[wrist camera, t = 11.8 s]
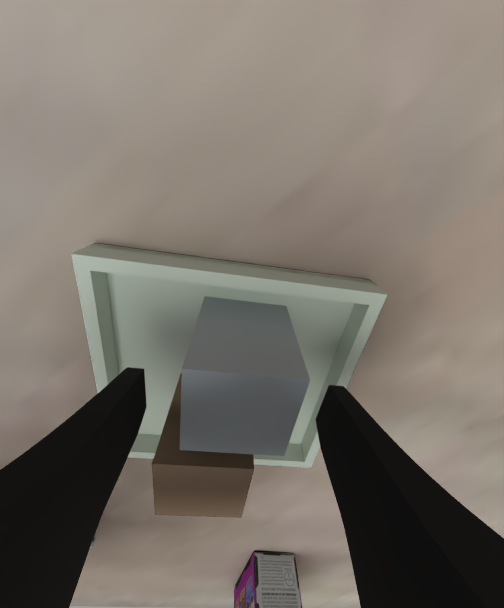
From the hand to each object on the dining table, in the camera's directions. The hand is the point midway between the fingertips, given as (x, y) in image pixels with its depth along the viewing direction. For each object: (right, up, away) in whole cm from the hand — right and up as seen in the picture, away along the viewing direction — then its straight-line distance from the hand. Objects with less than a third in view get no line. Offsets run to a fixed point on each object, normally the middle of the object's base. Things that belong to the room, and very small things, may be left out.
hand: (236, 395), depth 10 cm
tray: (-1, 0, +5) cm, 5 cm away
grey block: (0, +2, +3) cm, 4 cm away
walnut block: (-2, -2, +5) cm, 6 cm away
